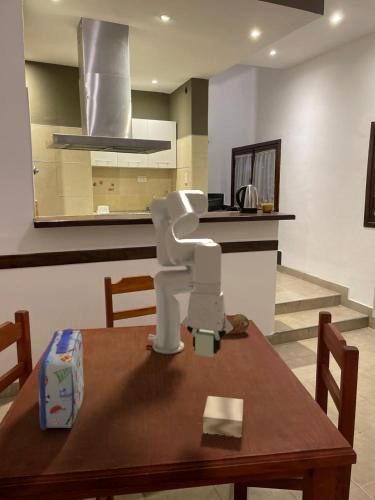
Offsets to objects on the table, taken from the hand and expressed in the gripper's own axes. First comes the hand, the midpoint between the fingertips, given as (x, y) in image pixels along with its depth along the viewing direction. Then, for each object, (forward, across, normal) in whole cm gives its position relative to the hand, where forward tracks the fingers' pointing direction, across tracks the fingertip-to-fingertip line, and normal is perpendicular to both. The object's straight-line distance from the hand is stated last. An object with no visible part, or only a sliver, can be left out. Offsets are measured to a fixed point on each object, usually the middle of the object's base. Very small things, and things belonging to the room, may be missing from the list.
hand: (206, 349), depth 105 cm
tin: (+18, -7, +61) cm, 64 cm away
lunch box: (+18, -39, -14) cm, 45 cm away
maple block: (+19, +6, -4) cm, 20 cm away
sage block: (+1, 0, 0) cm, 1 cm away
